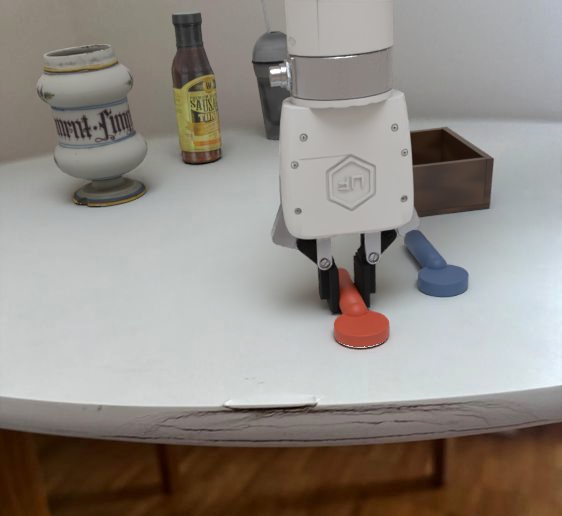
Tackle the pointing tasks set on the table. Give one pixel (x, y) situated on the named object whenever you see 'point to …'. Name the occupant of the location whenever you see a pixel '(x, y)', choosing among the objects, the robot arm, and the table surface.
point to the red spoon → (357, 317)
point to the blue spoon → (435, 268)
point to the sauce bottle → (194, 92)
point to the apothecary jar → (93, 122)
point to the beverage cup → (266, 55)
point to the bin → (449, 173)
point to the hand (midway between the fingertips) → (347, 302)
